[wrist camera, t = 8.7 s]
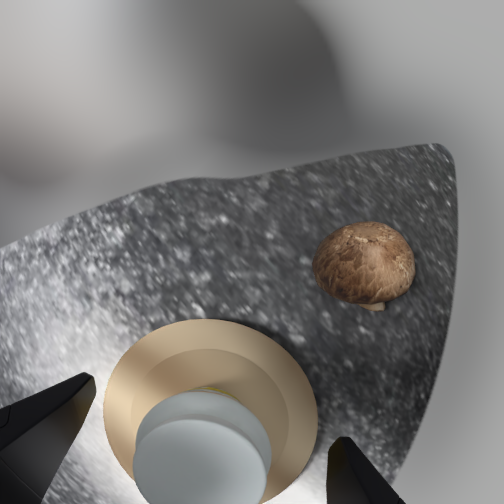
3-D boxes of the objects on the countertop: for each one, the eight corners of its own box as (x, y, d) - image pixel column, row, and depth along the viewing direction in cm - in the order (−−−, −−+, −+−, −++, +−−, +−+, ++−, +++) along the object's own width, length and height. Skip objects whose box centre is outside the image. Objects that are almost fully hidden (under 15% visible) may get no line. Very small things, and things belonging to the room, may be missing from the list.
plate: (240, 533, 11) (242, 540, 10) (75, 425, 13) (68, 427, 12) (347, 389, 17) (354, 388, 16) (186, 283, 19) (184, 278, 18)
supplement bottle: (184, 372, 16) (147, 362, 7) (263, 405, 15) (318, 429, 7) (152, 443, 13) (91, 495, 5) (232, 475, 13) (251, 555, 4)
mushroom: (421, 331, 16) (439, 260, 13) (315, 343, 18) (309, 272, 15) (397, 267, 23) (402, 205, 20) (315, 275, 25) (308, 213, 22)
